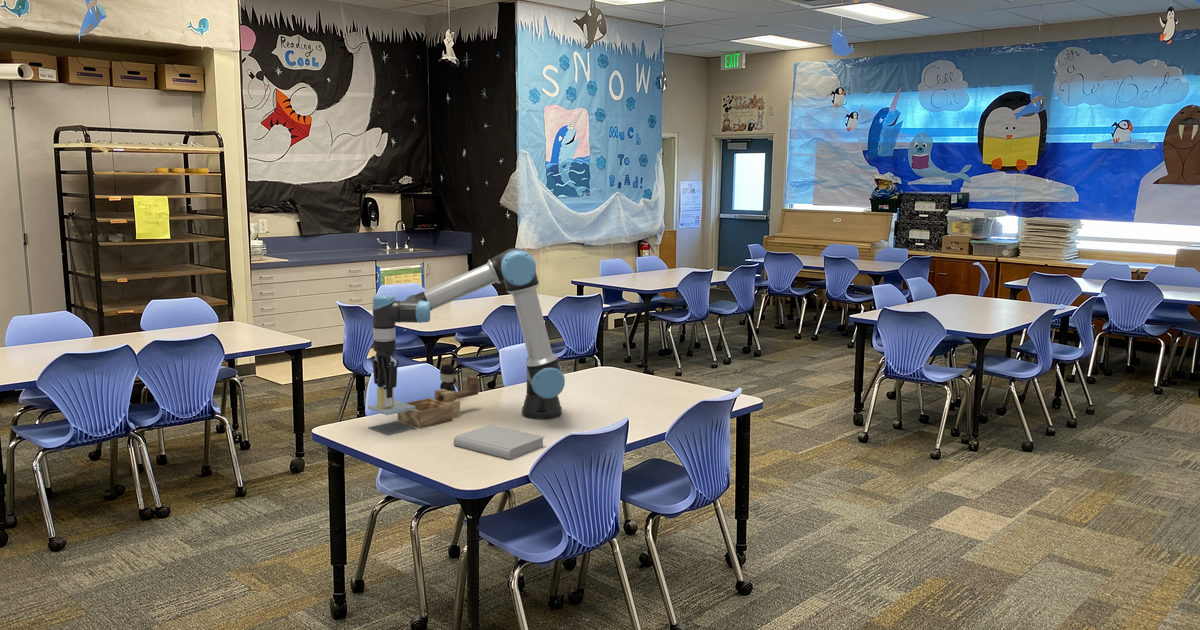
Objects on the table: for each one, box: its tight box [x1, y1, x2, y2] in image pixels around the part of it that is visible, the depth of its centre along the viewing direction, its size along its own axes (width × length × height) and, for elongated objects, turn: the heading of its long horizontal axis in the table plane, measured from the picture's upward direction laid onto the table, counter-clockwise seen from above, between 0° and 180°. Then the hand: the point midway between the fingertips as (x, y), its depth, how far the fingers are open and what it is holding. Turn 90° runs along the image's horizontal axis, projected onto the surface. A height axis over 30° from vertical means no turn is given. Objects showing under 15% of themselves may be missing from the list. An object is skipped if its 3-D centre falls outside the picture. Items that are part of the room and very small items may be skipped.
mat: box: [368, 420, 417, 436], centre depth 304 cm, size 12×12×1 cm
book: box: [453, 424, 545, 461], centre depth 285 cm, size 18×4×24 cm
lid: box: [367, 387, 415, 416], centre depth 302 cm, size 12×12×8 cm
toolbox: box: [397, 389, 461, 429], centre depth 315 cm, size 14×20×10 cm
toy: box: [439, 364, 462, 392], centre depth 342 cm, size 8×9×15 cm
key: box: [442, 375, 479, 400], centre depth 324 cm, size 3×15×7 cm, turn 137°
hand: (385, 405), depth 300 cm, fingers closed on lid, 2 cm apart
